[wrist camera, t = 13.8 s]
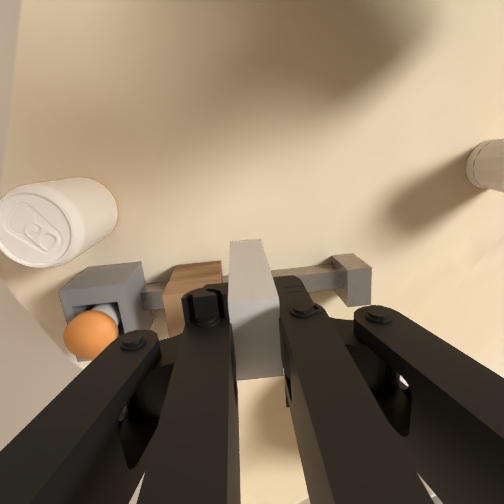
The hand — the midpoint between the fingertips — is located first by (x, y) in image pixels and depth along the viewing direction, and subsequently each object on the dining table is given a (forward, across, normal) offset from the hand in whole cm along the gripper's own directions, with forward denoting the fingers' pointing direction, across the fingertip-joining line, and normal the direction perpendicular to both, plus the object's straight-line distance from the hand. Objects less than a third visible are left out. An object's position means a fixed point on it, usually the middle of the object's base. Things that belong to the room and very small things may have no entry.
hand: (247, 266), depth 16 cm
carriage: (+27, -6, -12) cm, 30 cm away
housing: (+26, -17, -12) cm, 34 cm away
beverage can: (+27, -19, 0) cm, 33 cm away
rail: (+27, +1, -12) cm, 29 cm away
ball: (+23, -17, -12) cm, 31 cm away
